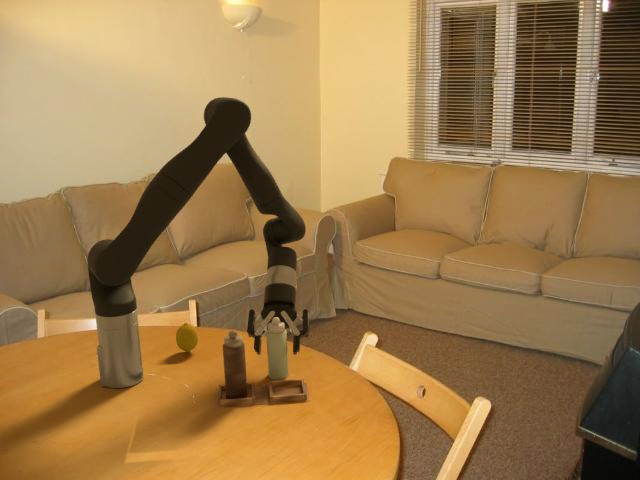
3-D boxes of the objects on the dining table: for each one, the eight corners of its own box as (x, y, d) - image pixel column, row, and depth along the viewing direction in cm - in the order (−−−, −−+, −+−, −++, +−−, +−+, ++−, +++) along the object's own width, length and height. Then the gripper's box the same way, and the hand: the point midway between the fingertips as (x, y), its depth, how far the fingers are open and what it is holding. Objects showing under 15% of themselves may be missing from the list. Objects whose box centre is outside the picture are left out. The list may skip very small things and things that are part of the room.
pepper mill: (225, 402, 154) (221, 335, 151) (226, 392, 159) (221, 327, 155) (247, 400, 155) (243, 333, 151) (247, 391, 159) (243, 325, 156)
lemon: (201, 348, 187) (199, 319, 185) (196, 357, 182) (193, 327, 180) (180, 348, 187) (178, 318, 185) (174, 356, 182) (171, 326, 180)
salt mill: (269, 384, 165) (265, 321, 161) (268, 376, 169) (265, 314, 165) (289, 383, 165) (286, 320, 161) (288, 374, 170) (285, 313, 166)
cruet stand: (215, 413, 152) (214, 402, 152) (216, 394, 161) (216, 384, 161) (310, 405, 154) (309, 395, 154) (306, 387, 163) (306, 377, 162)
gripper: (248, 281, 170) (242, 347, 161) (309, 281, 169) (306, 347, 160) (253, 296, 176) (247, 359, 168) (311, 295, 175) (309, 359, 167)
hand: (276, 353), depth 164 cm, fingers open, 8 cm apart
